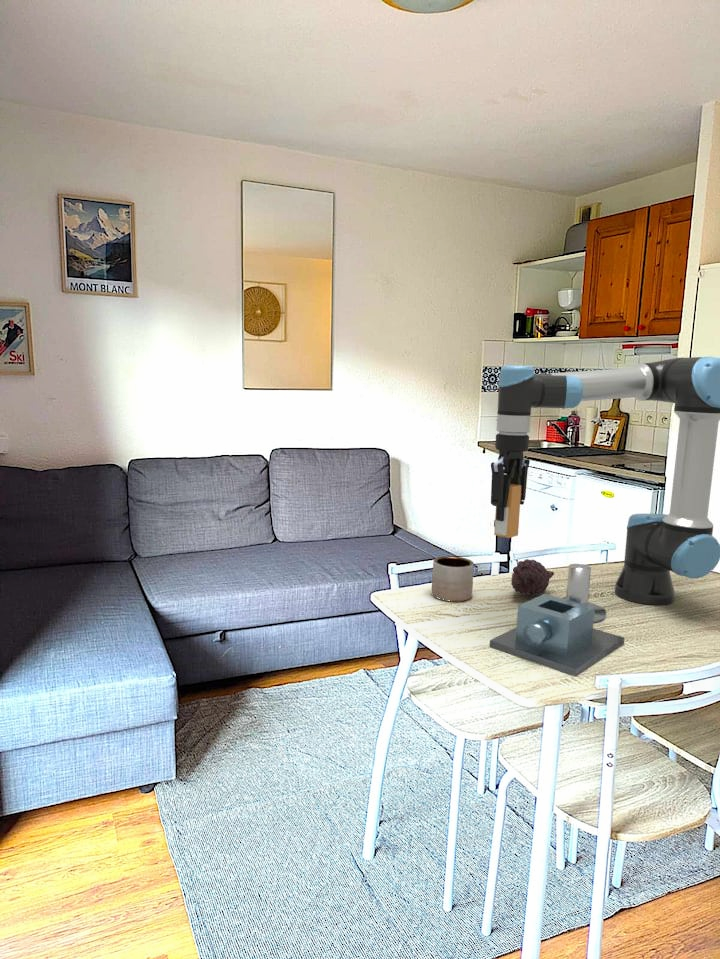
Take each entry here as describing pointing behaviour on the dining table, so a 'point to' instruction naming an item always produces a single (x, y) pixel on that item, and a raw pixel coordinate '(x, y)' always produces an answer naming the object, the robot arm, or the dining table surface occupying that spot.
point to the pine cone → (530, 577)
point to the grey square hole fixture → (561, 628)
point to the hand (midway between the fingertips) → (506, 532)
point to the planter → (452, 578)
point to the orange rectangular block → (512, 511)
